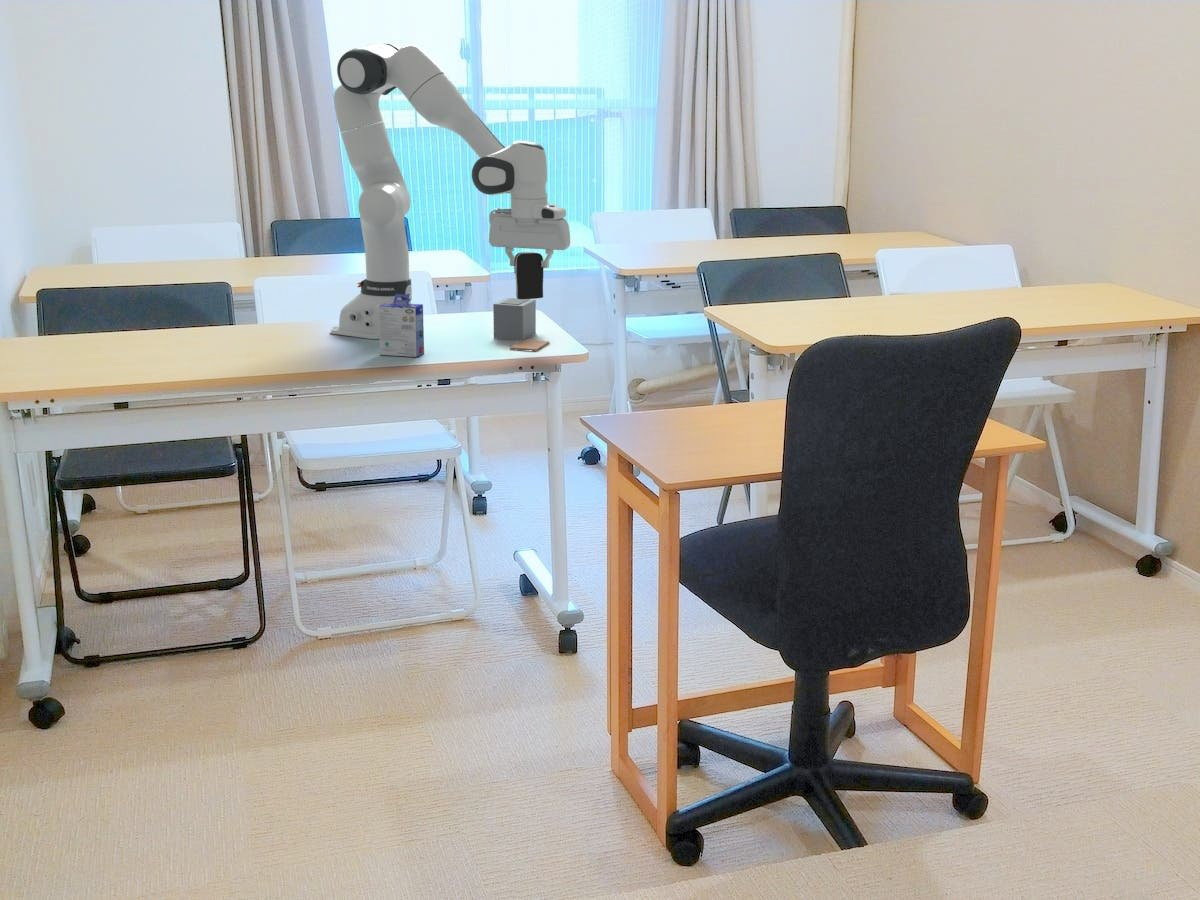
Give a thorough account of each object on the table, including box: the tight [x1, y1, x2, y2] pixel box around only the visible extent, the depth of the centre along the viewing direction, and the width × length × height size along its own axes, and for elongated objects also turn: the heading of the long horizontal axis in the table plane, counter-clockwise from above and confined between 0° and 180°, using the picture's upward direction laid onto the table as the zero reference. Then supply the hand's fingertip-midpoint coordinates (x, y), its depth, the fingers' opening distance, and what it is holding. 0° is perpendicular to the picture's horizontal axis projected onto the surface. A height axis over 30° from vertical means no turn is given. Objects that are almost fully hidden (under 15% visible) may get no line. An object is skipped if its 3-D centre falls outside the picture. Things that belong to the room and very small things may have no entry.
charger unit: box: [492, 297, 537, 341], centre depth 308 cm, size 8×10×9 cm
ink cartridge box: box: [378, 294, 425, 358], centre depth 284 cm, size 10×6×14 cm, turn 79°
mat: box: [509, 339, 550, 352], centre depth 297 cm, size 7×10×1 cm
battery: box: [513, 251, 544, 300], centre depth 292 cm, size 7×4×11 cm, turn 109°
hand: (529, 266), depth 291 cm, fingers closed on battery, 7 cm apart
